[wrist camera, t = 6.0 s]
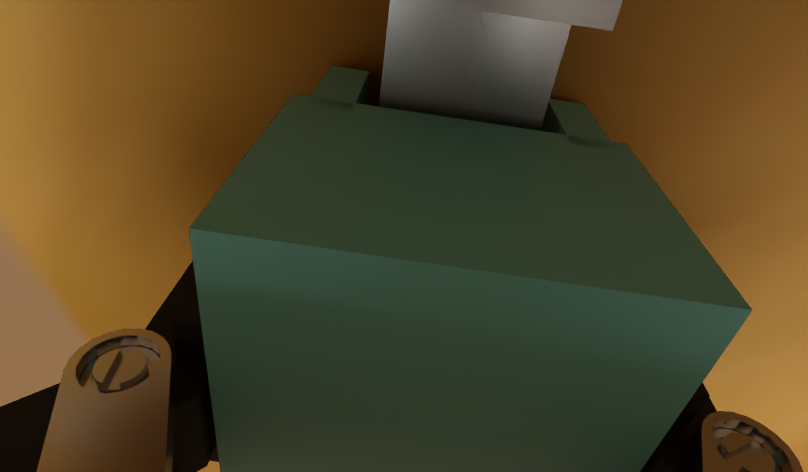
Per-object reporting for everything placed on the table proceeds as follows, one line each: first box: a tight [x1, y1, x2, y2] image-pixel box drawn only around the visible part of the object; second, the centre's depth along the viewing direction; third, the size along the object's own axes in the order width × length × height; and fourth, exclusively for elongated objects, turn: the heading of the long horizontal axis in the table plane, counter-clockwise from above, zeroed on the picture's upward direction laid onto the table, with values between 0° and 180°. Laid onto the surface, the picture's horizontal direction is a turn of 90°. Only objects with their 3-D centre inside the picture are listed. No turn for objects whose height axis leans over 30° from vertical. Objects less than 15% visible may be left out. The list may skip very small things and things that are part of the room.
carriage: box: [189, 66, 752, 472], centre depth 10 cm, size 7×6×6 cm
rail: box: [379, 0, 623, 131], centre depth 13 cm, size 19×3×4 cm, turn 172°
